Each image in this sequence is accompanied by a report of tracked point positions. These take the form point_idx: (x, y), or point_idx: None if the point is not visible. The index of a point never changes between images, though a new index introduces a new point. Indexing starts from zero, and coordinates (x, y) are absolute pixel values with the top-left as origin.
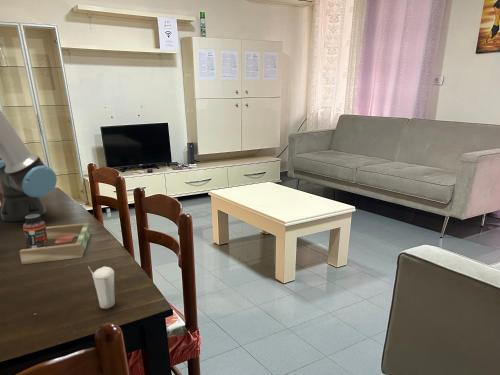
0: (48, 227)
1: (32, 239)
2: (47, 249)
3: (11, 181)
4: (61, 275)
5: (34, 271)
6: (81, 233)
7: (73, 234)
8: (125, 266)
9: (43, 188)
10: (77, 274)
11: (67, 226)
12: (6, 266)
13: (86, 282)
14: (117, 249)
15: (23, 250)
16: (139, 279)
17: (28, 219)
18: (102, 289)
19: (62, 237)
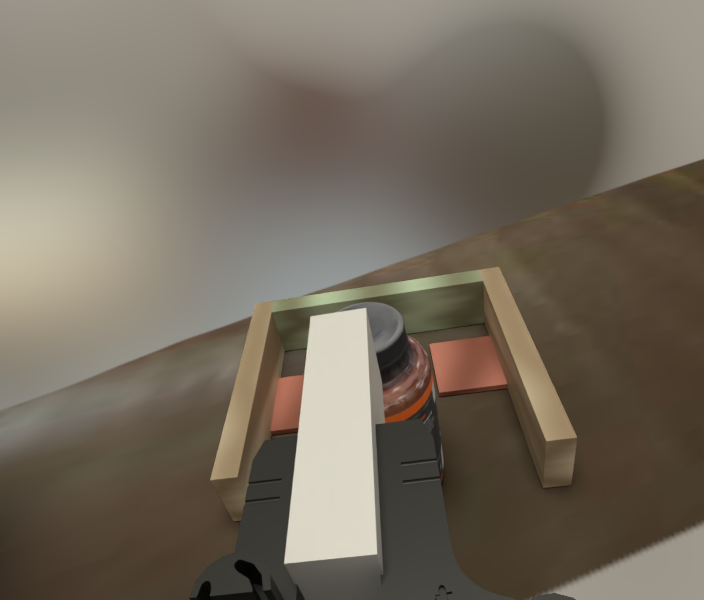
0: (235, 426)
1: (437, 415)
2: (533, 347)
3: None
4: (656, 319)
5: (638, 408)
6: (377, 293)
7: (276, 375)
8: (570, 218)
9: None
10: (639, 286)
11: (261, 357)
12: (598, 558)
13: (689, 257)
14: (447, 252)
15: (559, 425)
16: (643, 187)
17: (404, 336)
18: None
19: (278, 413)
